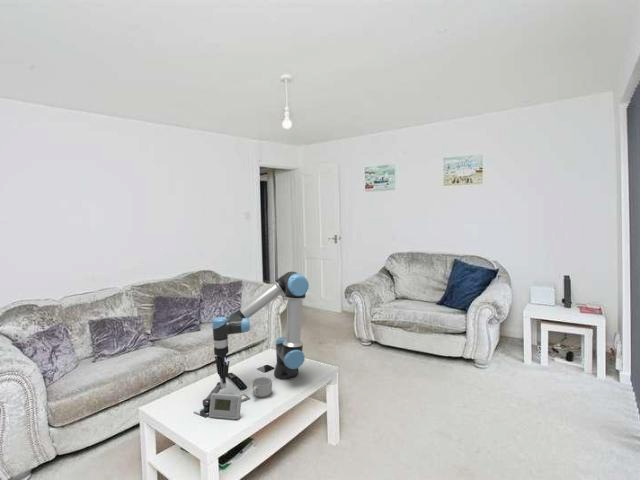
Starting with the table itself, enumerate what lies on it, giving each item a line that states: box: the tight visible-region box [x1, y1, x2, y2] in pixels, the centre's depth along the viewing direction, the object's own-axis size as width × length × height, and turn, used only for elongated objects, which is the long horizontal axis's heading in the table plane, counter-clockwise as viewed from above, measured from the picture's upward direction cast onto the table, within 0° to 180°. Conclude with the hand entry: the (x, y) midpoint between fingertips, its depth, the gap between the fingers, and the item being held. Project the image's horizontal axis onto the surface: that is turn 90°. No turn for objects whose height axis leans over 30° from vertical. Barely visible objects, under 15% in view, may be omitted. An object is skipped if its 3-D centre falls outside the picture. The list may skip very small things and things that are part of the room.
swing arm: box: [202, 381, 222, 407], centre depth 192 cm, size 22×4×2 cm, turn 175°
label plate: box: [240, 393, 251, 403], centre depth 196 cm, size 8×6×1 cm
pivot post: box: [199, 406, 210, 417], centre depth 183 cm, size 7×7×4 cm
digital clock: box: [208, 392, 242, 420], centre depth 180 cm, size 16×9×11 cm, turn 68°
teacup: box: [252, 376, 273, 398], centre depth 199 cm, size 14×11×8 cm
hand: (223, 388), depth 199 cm, fingers closed
